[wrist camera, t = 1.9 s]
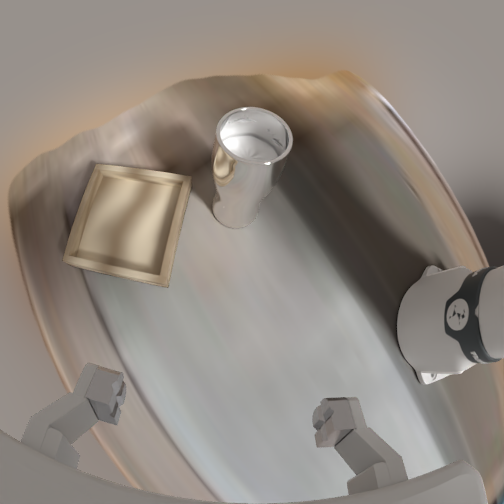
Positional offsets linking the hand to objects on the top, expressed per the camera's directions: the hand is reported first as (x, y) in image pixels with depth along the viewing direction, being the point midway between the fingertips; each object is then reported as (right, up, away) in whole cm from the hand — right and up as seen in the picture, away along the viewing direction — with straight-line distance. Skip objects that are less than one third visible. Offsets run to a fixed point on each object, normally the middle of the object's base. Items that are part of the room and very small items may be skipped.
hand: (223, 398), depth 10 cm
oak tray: (-14, +9, +24) cm, 29 cm away
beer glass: (-1, +11, +27) cm, 29 cm away
